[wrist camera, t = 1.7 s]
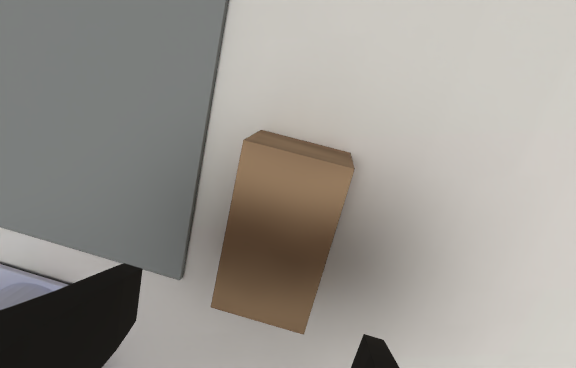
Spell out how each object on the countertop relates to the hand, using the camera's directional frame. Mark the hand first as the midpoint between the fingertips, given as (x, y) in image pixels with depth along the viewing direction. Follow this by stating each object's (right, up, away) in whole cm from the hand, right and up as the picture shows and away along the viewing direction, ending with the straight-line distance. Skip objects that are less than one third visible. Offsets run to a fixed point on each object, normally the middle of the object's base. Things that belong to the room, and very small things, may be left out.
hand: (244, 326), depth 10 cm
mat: (-10, +10, +9) cm, 17 cm away
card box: (+1, +3, +9) cm, 10 cm away
